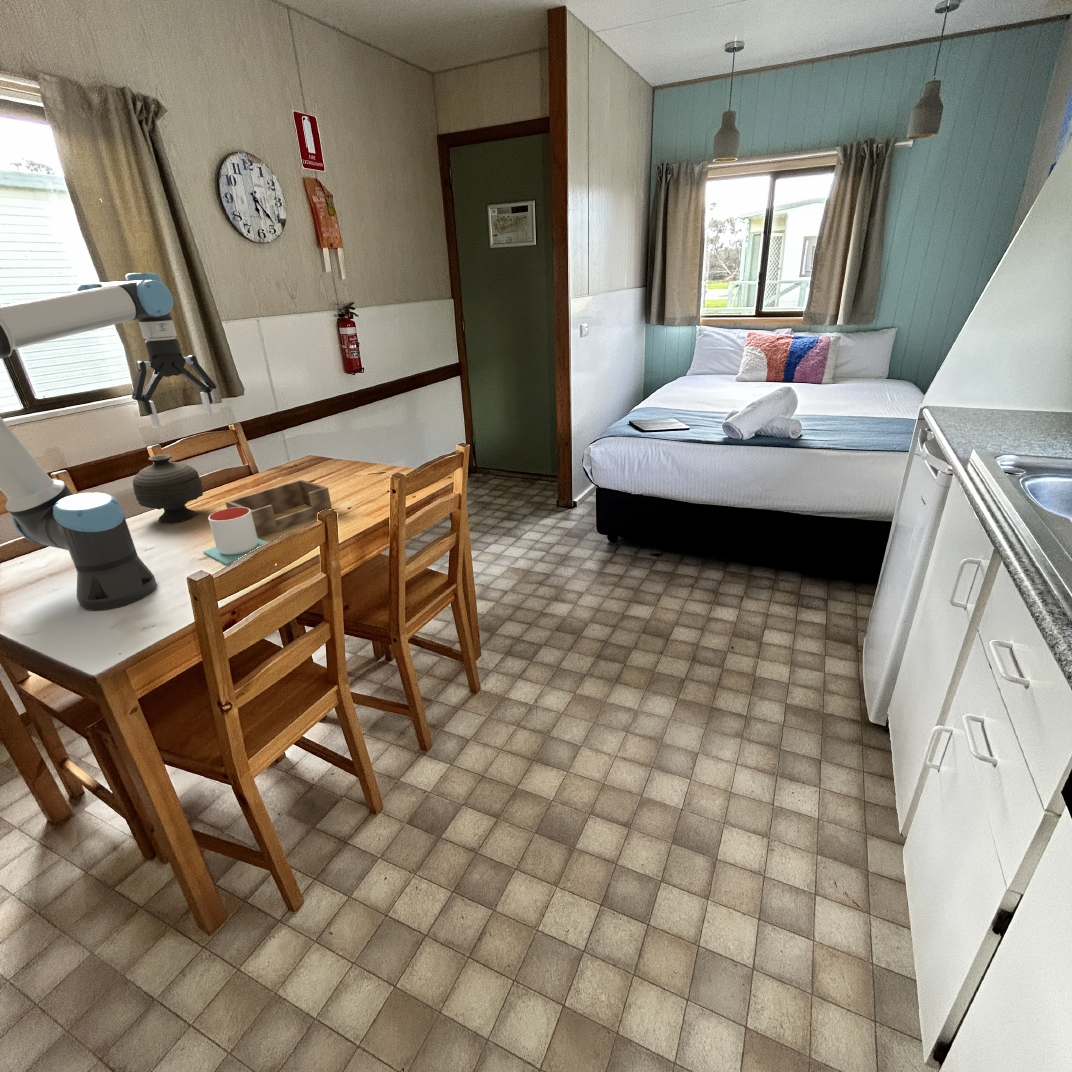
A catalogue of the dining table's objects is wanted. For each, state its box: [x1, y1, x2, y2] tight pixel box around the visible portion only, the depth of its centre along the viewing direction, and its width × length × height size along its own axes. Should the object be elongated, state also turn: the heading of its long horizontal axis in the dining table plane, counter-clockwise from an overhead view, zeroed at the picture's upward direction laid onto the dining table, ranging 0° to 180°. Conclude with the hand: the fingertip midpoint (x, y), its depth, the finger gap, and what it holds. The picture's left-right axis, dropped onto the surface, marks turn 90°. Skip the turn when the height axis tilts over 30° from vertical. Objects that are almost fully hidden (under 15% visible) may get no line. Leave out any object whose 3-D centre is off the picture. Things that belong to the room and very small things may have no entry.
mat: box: [202, 538, 269, 566], centre depth 156 cm, size 13×13×1 cm
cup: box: [208, 507, 258, 555], centre depth 154 cm, size 10×10×10 cm
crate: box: [224, 479, 333, 539], centre depth 174 cm, size 24×15×8 cm, turn 142°
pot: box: [132, 453, 204, 524], centre depth 178 cm, size 18×18×20 cm
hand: (184, 421), depth 159 cm, fingers open, 13 cm apart
